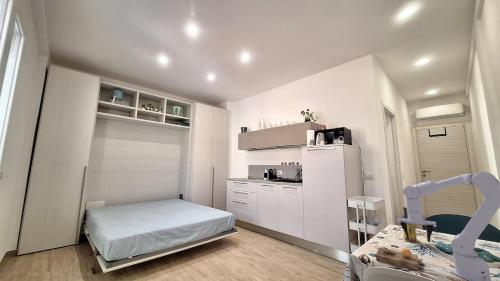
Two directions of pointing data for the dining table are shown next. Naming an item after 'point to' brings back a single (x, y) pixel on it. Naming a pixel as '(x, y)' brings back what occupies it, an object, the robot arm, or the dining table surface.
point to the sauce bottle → (409, 228)
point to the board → (397, 258)
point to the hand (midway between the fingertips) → (418, 240)
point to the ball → (406, 252)
